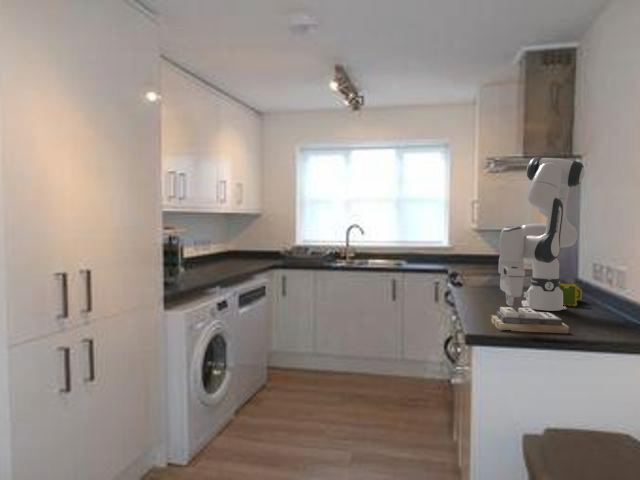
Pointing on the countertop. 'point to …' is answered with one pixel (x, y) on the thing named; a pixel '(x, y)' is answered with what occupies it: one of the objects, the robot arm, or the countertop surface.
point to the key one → (509, 312)
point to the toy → (570, 294)
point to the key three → (547, 315)
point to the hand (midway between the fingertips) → (509, 305)
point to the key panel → (529, 324)
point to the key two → (528, 313)
